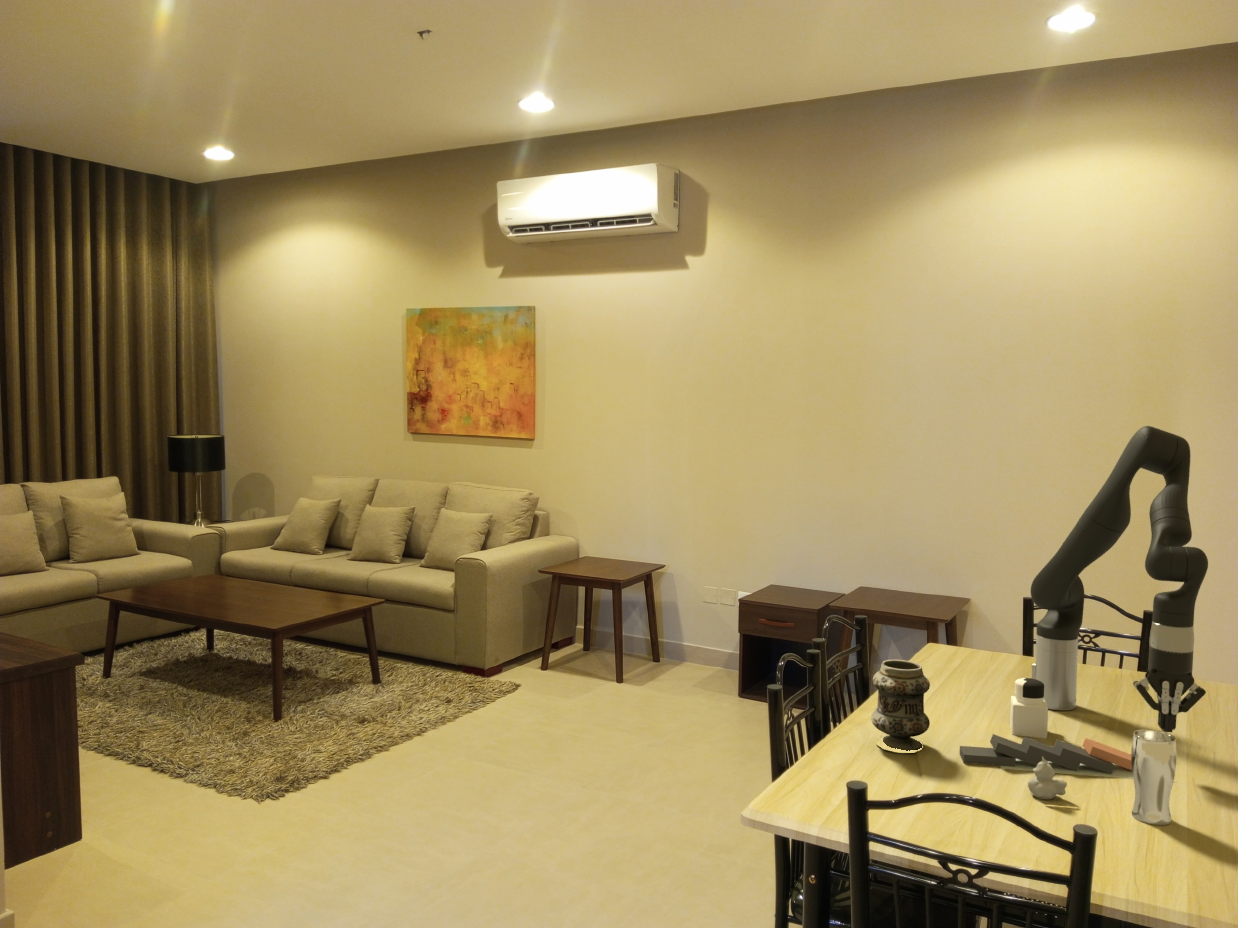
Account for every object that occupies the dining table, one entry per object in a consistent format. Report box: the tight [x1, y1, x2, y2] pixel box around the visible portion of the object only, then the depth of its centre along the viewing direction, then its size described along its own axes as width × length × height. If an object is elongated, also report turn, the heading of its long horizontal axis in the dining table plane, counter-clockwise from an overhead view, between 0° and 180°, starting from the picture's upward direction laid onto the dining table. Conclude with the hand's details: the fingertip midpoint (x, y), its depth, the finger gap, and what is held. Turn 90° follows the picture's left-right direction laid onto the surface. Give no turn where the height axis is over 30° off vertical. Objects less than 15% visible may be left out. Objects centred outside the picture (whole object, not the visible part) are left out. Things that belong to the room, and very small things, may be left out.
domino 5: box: [1081, 737, 1132, 770], centre depth 187 cm, size 2×5×10 cm
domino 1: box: [959, 745, 1016, 767], centre depth 191 cm, size 2×5×10 cm
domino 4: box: [1053, 738, 1114, 774], centre depth 187 cm, size 2×5×10 cm
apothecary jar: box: [870, 659, 931, 751], centre depth 199 cm, size 12×12×18 cm
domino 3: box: [1020, 736, 1080, 771], centre depth 188 cm, size 2×5×10 cm
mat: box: [999, 759, 1177, 783], centre depth 187 cm, size 32×8×1 cm, turn 78°
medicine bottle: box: [1009, 677, 1049, 739], centre depth 208 cm, size 7×7×12 cm
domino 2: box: [989, 733, 1047, 766], centre depth 190 cm, size 2×5×10 cm
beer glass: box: [1130, 728, 1177, 826], centre depth 165 cm, size 7×7×15 cm
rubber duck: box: [1027, 756, 1068, 801], centre depth 173 cm, size 5×7×8 cm
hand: (1166, 730), depth 185 cm, fingers closed
